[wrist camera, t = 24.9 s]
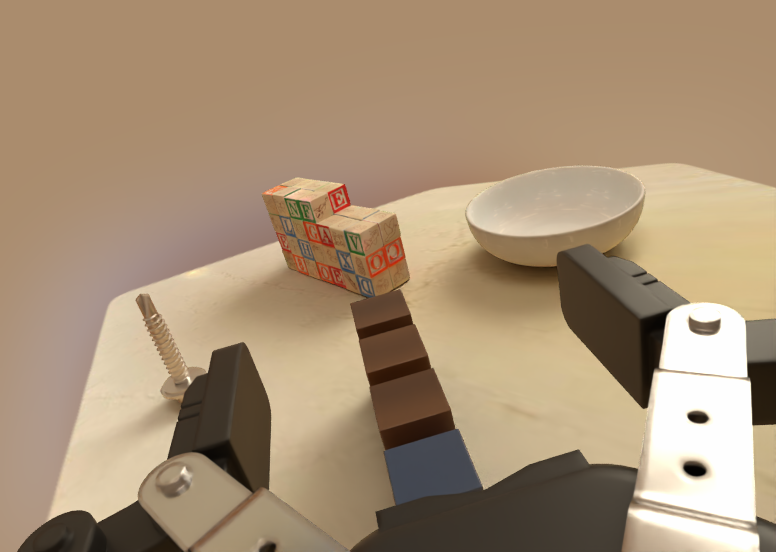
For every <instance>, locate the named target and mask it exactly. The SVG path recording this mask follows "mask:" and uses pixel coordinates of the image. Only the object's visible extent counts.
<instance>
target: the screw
mask: <svg viewBox="0 0 776 552" xmlns="http://www.w3.org/2000/svg"><path fill="white" fill-rule="evenodd" d="M136 302H137V304H138V306H139V308H140V310H141V312H142V314H143V316H144V319H143V321H145V322H146V324H145V326H147V327H148V330H147V331H148V332H150V333H151V334H150V336H152V337H153V339H152V341H155V346H157V347H158V348H157V351H160V353H159V355H160V356H162V360H164V361H165V362H164V365H167V367H166V369H168V370H169V372H168V373H169V374H171V376H170V377H169V378H168V379H167V380H166V381H165V382H164V384H163V386H162V388H161V393H162V395H163V397H164V398H166V399H171V400H173V399H177V400H178V401H179V402H180V403H181V404H182V401H183V397H184V393H185V391H186V390H187V388H188V387H189V386H190V384H191V383H192V382H193V380H194V379H195V378H196V377H197V376H199V375H203V374H206V371H205V370H204V369H202V368H198V367H189V368H187V366H186V365H185V362H184V361H183V357H181V353H180V352H178V351H179V349H178V348H177V347H176V343H174V339H173V338H171V337H172V335H171V334H170V333H169V329H168V328H167V324H165V323H164V322H165V320H164V319H162V315H161V314H158V312H157V310H156V308H155V306H154V304H153V302H152V300H151V298H150V296H149V294H140V295H139V296H138V297H137V298H136Z"/></svg>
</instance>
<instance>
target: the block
mask: <svg viewBox="0 0 776 552" xmlns="http://www.w3.org/2000/svg"><path fill="white" fill-rule="evenodd" d="M384 456H385V460H386V465H387V469H388V473H389V478H390V482H391V487H392V491H393V496H394V500H395V504H396V505H399V504H403V503H406V502H409V501H412V500H416V499H419V498H422V497H425V496H435V495H446V494H458V493H469V492H479V491H483V486H482V484H481V482H480V479H479V477H478V474H477V472H476V470H475V467H474V465H473V463H472V460H471V458H470V455H469V453H468V451H467V448H466V446H465V443H464V441H463V439H462V436H461V434H460V431H459V430H458V429H455V430H452V431H448V432H445V433H442V434H438V435H435V436H432V437H428V438H425V439H422V440H418V441H415V442H412V443H408V444H405V445H402V446H398V447H395V448H392V449H388V450H385V451H384Z"/></svg>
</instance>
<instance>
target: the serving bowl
mask: <svg viewBox="0 0 776 552" xmlns="http://www.w3.org/2000/svg"><path fill="white" fill-rule="evenodd" d="M644 198H645V186H644V184H643V183H642V181H641V180H640V179H639V178H637V177H636V176H634V175H632V174H630V173H628V172H625V171H622V170H619V169H614V168H609V167H599V166H565V167H556V168H549V169H542V170H538V171H533V172H529V173H525V174H521V175H518V176H515V177H512V178H509V179H506V180H503V181H501V182H498V183H496V184H494V185H492V186H490V187H488V188H487V189H485V190H483V191H482V192H480V193H479V194H478V195H476V196H475V197H474V198H473V199H472V200H471V201H470V203H469V204H468V206H467V208H466V213H465V215H466V220H467V222H468V225H469V228H470V230H471V232H472V234H473V236H474V237H475V239H476V240H477V242H478V243H479V244H480V245H481V246H482V247H483V248H484V249H485V250H487V251H488V252H489V253H491V254H492V255H494V256H496V257H498V258H500V259H502V260H505V261H507V262H511V263H515V264H519V265H525V266H535V267H549V266H557V261H556V260H557V254H558V252H560V251H563V250H567V249H570V248H574V247H577V246H581V245H584V244H590V245H591V246H593V247H594V248H595V249H597V250H598V251H599V252H600V253H605V252H607V251H608V250H610V249H612V248H613V247H615V246H616V245H618V244H619V243H620V242H621V241H622V240H624V239H625V238H626V237H627V236H628V235H629V233H630V232H631V231H632V230H633V228H634V227H635V225H636V224H637V222H638V220H639V218H640V215H641V213H642V209H643V205H644Z"/></svg>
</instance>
